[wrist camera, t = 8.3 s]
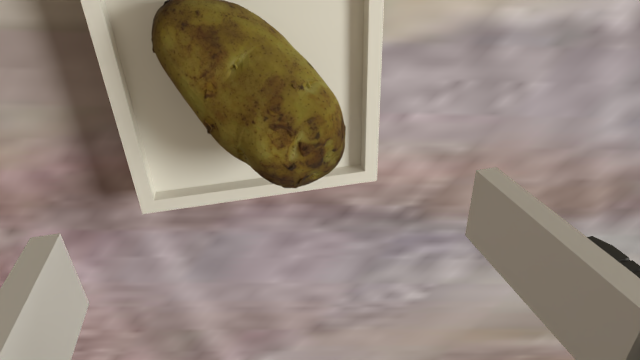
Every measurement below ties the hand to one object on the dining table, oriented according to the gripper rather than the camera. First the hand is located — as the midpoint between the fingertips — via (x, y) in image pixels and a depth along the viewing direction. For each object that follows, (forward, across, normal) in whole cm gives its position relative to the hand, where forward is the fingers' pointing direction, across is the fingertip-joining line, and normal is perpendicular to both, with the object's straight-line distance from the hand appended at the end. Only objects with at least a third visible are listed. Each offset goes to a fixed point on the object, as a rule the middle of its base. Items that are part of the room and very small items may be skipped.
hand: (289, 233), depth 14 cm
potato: (+18, 0, 0) cm, 18 cm away
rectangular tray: (+21, 0, 0) cm, 21 cm away
